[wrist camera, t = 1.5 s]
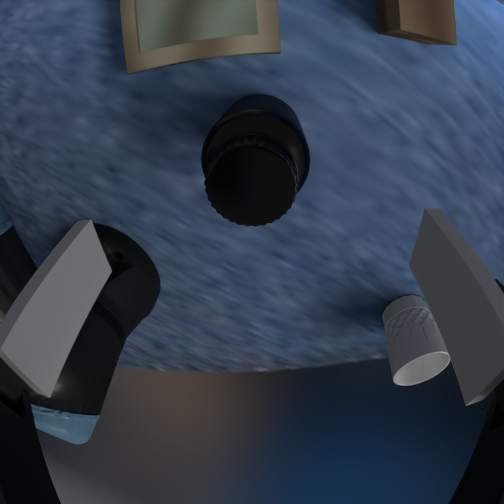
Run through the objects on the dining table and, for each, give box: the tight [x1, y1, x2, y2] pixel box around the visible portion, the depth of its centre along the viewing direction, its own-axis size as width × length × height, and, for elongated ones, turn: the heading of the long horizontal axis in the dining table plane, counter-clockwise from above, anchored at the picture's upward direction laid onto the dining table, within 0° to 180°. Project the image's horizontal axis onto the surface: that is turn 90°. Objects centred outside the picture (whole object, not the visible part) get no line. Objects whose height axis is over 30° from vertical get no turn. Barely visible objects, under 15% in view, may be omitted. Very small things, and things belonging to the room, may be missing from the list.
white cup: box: [382, 295, 450, 385], centre depth 32 cm, size 8×8×10 cm
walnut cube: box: [376, 0, 456, 45], centre depth 13 cm, size 5×5×5 cm
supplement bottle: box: [201, 94, 310, 226], centre depth 19 cm, size 7×7×12 cm
